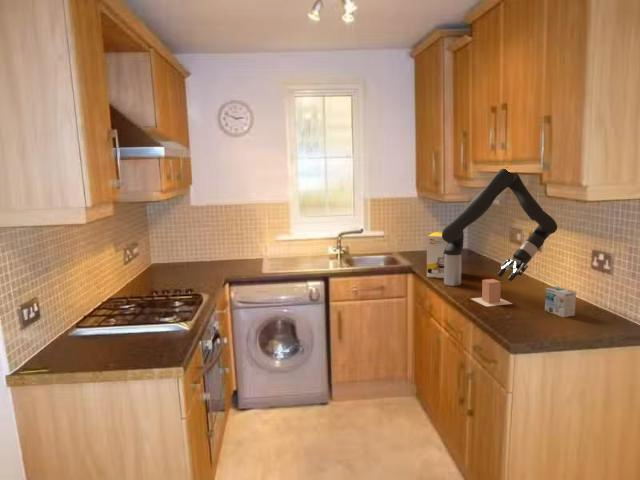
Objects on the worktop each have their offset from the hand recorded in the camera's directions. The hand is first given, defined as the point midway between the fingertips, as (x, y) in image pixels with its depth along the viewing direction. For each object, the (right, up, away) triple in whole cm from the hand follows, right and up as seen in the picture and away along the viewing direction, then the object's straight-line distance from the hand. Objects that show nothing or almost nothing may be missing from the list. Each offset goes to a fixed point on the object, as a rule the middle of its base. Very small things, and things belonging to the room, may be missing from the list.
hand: (503, 277), depth 225 cm
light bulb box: (+17, -14, -19) cm, 29 cm away
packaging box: (-14, -3, +58) cm, 60 cm away
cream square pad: (-6, -12, 0) cm, 13 cm away
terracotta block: (-6, -11, 0) cm, 13 cm away
